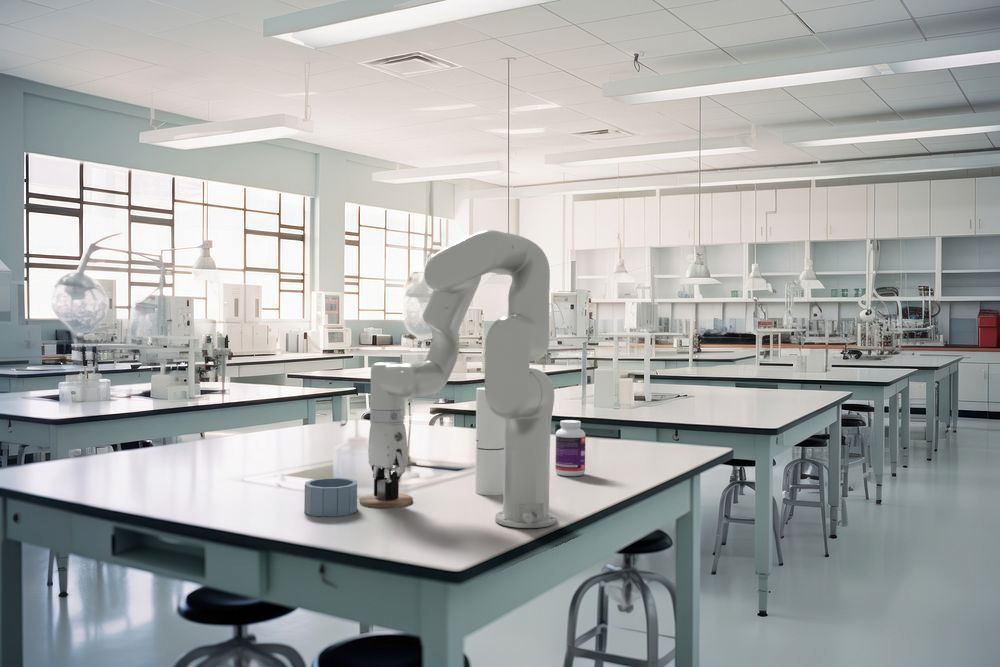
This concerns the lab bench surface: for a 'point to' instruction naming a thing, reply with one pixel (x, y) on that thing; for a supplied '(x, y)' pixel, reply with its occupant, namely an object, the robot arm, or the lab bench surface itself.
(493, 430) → the cylindrical container
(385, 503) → the lid
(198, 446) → the lab bench surface
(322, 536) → the lab bench surface
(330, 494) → the bowl
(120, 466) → the lab bench surface
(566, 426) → the pill bottle
